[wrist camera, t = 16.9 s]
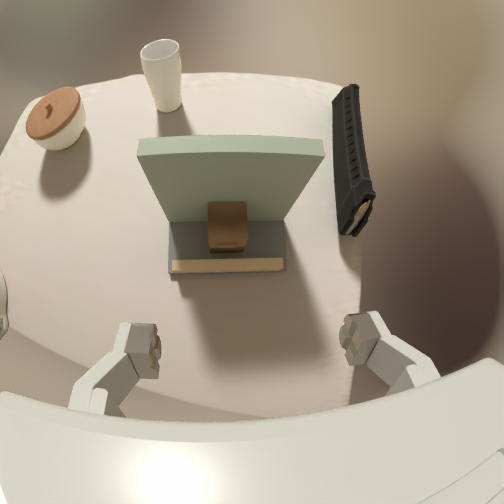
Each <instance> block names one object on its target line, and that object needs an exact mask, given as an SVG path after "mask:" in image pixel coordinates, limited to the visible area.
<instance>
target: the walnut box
mask: <svg viewBox="0 0 504 504" xmlns="http://www.w3.org/2000/svg"><path fill="white" fill-rule="evenodd" d="M247 241H248V226H247V204H246V202H211V203H208V243H209V249H210V253H243V251H244V249H245V246H246V243H247Z"/></svg>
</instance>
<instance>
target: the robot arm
mask: <svg viewBox="0 0 504 504" xmlns="http://www.w3.org/2000/svg"><path fill="white" fill-rule="evenodd" d="M6 304H7V294H6V285H5V281H4V278H3V275H2V273H1V271H0V340H1V338H2V337H3V336H4V335H5V333H6V332H7V331H8V320H7V315H6ZM344 323H345V324H344V325H343V326H342V327H341V329H340V332H339V340H340V344H341V347H342V348H344V349H345V350H346V353H345V356H346V359H347V361H348V364H349V366H352V365H358V364H364V363H366V365H367V366H368V367H369V368H370V369H372V370H373V371H374V372H375V373H376V374H377V375H378V376H379V377H380V378H382V379H383V380H384V381H385V382H386V383H387V384H388V385H389V386H391V389H390V390H389V391H388V392H387V394H386V396H385V397H382V398H378V399H374V400H371V401H367V402H363V403H359V404H354V405H350V406H345V407H341V408H336V409H331V410H326V411H320V412H314V413H308V414H302V415H295V416H287V417H279V418H270V419H260V420H247V421H229V422H173V421H155V420H142V419H131V418H126V416H125V415H124V414H123V412H122V411H121V410H120V408H119V407H118V406H119V405H120V404H121V402H122V401H123V400H124V398H125V397H126V396H127V395H128V394H129V392H130V391H131V390H132V388H133V387H134V386H135V385H136V383H137V382H138V381H139V378H142V379H158V376H159V368H160V366H159V363H158V360H159V359H160V358H161V340H160V337H159V336H158V335H157V331H158V329H157V326H156V324H145V323H124V322H122V323H121V324H120V326H119V329H118V332H117V336H116V339H115V343H114V347H113V350H112V352H108V353H107V354H106V355H105V356H104V357H103V358H102V359H101V360H99V361H98V362H97V363H96V364H95V365H94V366H93V367H92V368H91V369H90V370H89V371H87V372H86V373H85V374H84V375H83V376H82V377H81V378H80V379H79V380H78V381H77V382H76V383H75V384H74V387H73V391H72V395H71V398H70V402H69V406H68V408H65V407H61V406H57V405H53V404H49V403H45V402H41V401H38V400H34V399H31V398H27V397H24V396H21V395H18V394H15V393H12V392H9V391H2V392H0V504H504V366H503V365H502V364H500V363H499V362H497V361H495V360H494V359H492V358H485V359H482V360H480V361H478V362H476V363H474V364H472V365H470V366H467V367H465V368H463V369H461V370H458V371H456V372H454V373H452V374H449V375H446V376H444V377H440V375H439V373H438V372H437V370H436V368H435V366H434V364H433V362H432V361H431V359H430V358H429V357H427V356H426V355H424V354H422V353H421V352H419V351H418V350H416V349H414V348H413V347H412V346H410V345H409V344H407V343H405V342H404V341H402V340H401V339H399V338H398V337H396V336H394V335H393V336H392V335H391V334H390V332H389V330H388V328H387V327H386V325H385V323H384V322H383V320H382V318H381V316H380V315H379V313H378V312H377V311H372V312H364V313H355V314H347V315H346V316H345V318H344Z"/></svg>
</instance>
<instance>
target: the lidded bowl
mask: <svg viewBox="0 0 504 504" xmlns="http://www.w3.org/2000/svg"><path fill="white" fill-rule="evenodd" d="M85 120H86V113H85V108H84V105H83V102H82V100H81V98H80V95H79V93H78V91H77V90H76V89H75V88H72V87H63V88H59V89H56V90H54V91H52V92H51V93H49V94H47V95H46V96H45V97H43V98H42V99H41V100H40V101H39V102H38V103H37V104H36V105H35V107H34V108H33V109H32V111H31V112H30V114H29V116H28V119H27V122H26V132H27V134H28V135H29V137H30V138H32V139H33V140H34V141H35V142H36V143H37V144H38V145H40V146H41V147H43V148H45V149H47V150H61V149H66V148H68V147H70V146H72V145H73V144H74V143H75V142H76V141H77V140H78V139H79V137H80V135H81V133H82V130H83V128H84V125H85Z"/></svg>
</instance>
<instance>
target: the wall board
mask: <svg viewBox="0 0 504 504" xmlns="http://www.w3.org/2000/svg"><path fill="white" fill-rule="evenodd" d="M324 157H325V153H324V148H323V143H322V140H319V139H309V138H296V137H281V136H260V135H193V136H172V137H157V138H145V139H139V145H138V151H137V158H138V160H139V162H140V164H141V166H142V168H143V170H144V173H145V175H146V177H147V179H148V181H149V183H150V185H151V187H152V189H153V191H154V193H155V195H156V197H157V199H158V201H159V203H160V205H161V207H162V209H163V211H164V213H165V215H166V217H167V219H168V221H169V259H168V273H169V274H198V273H241V272H274V271H286V260H285V246H284V232H283V219H284V218H285V216H286V215H287V213H288V212H289V210H290V209H291V207H292V206H293V204H294V203H295V201H296V200H297V198H298V197H299V195H300V194H301V192H302V191H303V189H304V188H305V186H306V184H307V183H308V181H309V180H310V178H311V177H312V175H313V174H314V172H315V171H316V169H317V168H318V166H319V165H320V163H321V162H322V160H323V159H324ZM211 202H246V204H247V226H248V241H247V243H246V246H245V249H244V251H243V253H210V249H209V243H208V203H211Z"/></svg>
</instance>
